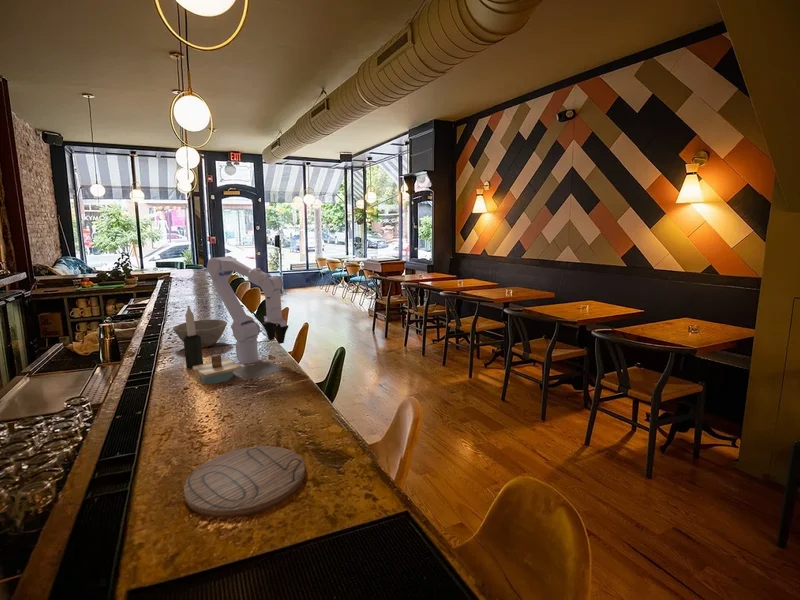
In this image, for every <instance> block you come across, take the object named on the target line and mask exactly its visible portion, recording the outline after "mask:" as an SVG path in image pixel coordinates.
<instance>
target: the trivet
mask: <svg viewBox="0 0 800 600" xmlns="http://www.w3.org/2000/svg"><path fill="white" fill-rule="evenodd" d="M305 473H306V471H305V461H304V460H303V458H302V456H301V455H299V454H298V453H297V452H295V451H294V450H291V449H287V448H284V447H280V446H272V445H262V446H261V445H258V446H249V447H243V448H239V449H235V450H232V451H228V452H225V453H223V454H219V455H217V456H215V457H213V458H211V459H209V460H208V461H206V462H204V463H203V464H201V465H200V466H198V467H197V468H195V469H194V470H193V471H192V473H190V475H188V477H187V478H186V481H185V484H184V486H183V492H184V493H183V494H184V500H185V503H186V505H187V506H188V507H189V509H190V510H192V511H194V512H195V513H198V514H200V515H201V516H207V517H212V518H236V517H237V518H238V517H243V516H244V517H245V516H249V515H252V514H255V513H260V512H263V511H266V510H269V509H270V508H272V507H274V506H276V505H278V504H281V503H282V502H284V501H285V500H287V499H288V498H289V497H291V496H292V495H294V494H295V492H297V491H298V489H299V488H300V487H301V486H302V484H303V482H304V479H305V477H306V475H305Z"/></svg>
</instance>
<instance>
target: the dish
mask: <svg viewBox="0 0 800 600" xmlns="http://www.w3.org/2000/svg"><path fill="white" fill-rule="evenodd" d="M233 372H234V371H231V372H227V373H223V374H219V375H215V376H210V377H206V378H204V377H203V376H202V375H200V374H199V376H200V382H202V383H204V384H218V383H219V384H220V383H224V382H227V381H229V380H230V379H232V378H233V377H234V373H233Z"/></svg>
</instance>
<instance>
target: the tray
mask: <svg viewBox="0 0 800 600" xmlns="http://www.w3.org/2000/svg"><path fill="white" fill-rule="evenodd" d="M286 370H287V369H286V368H284V367H282V366H281V365H277V364H276V363H273V362H272V361H269V360H266V361H262V362H258V363H255V364H251V365H246V366H242V369H240V370H236V371H233V372H234V373H236V374H237V375H239V376H241V377H243V378H245V379H246V380H251V379H255V378H259V377H264V376H267V375H270V374H271V375H272V374H275V373H278V372H281V371H282V372H283V371H286Z"/></svg>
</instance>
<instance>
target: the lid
mask: <svg viewBox="0 0 800 600" xmlns="http://www.w3.org/2000/svg"><path fill="white" fill-rule="evenodd" d="M210 357H211V362H206V363H203V364H201V365H197V366H192V367H193V369H192V370H193V371H194V372H196V373H197V374H199V376H200V375H202V376H203V377H204V378H206V377H210V376H215V375H219V374H223V373H227V372H231V371H233V372H234V371H236V370H240V369H242V367H243V366H242V365H241V364H239V363H238V362H235V361H233V360H232V359H230V358H225V359H222V355H221V354H219V353H218V354H212V355H211V356H210Z"/></svg>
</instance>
